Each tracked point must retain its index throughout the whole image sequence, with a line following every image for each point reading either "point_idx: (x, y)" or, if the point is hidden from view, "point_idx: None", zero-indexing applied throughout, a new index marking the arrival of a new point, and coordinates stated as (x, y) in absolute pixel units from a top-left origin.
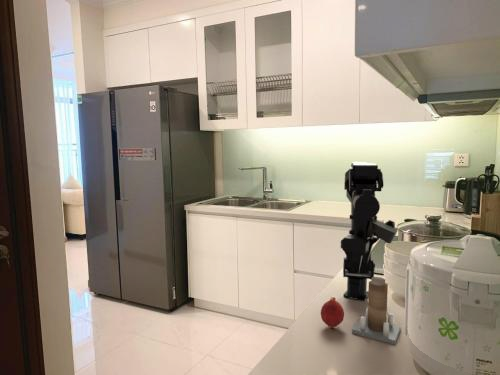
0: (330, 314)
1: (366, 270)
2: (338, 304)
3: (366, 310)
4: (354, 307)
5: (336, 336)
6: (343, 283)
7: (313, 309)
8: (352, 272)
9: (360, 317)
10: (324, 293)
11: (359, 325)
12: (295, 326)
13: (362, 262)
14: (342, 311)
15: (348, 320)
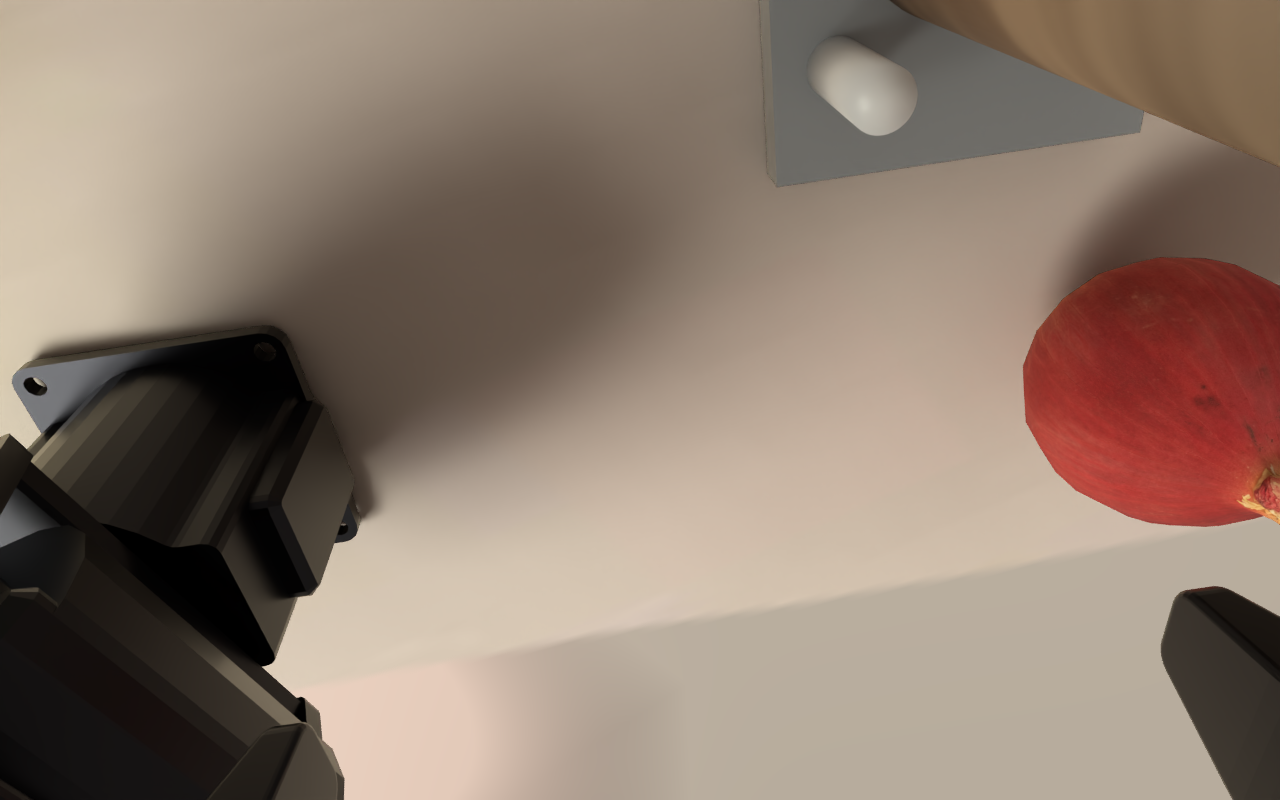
0: None
1: (120, 602)
2: (1274, 399)
3: (900, 116)
4: (518, 339)
5: (1234, 211)
6: None
7: (813, 574)
8: (280, 705)
9: (816, 169)
10: (435, 657)
11: (1017, 98)
12: (1174, 528)
13: (97, 798)
14: (1248, 309)
15: (854, 261)
